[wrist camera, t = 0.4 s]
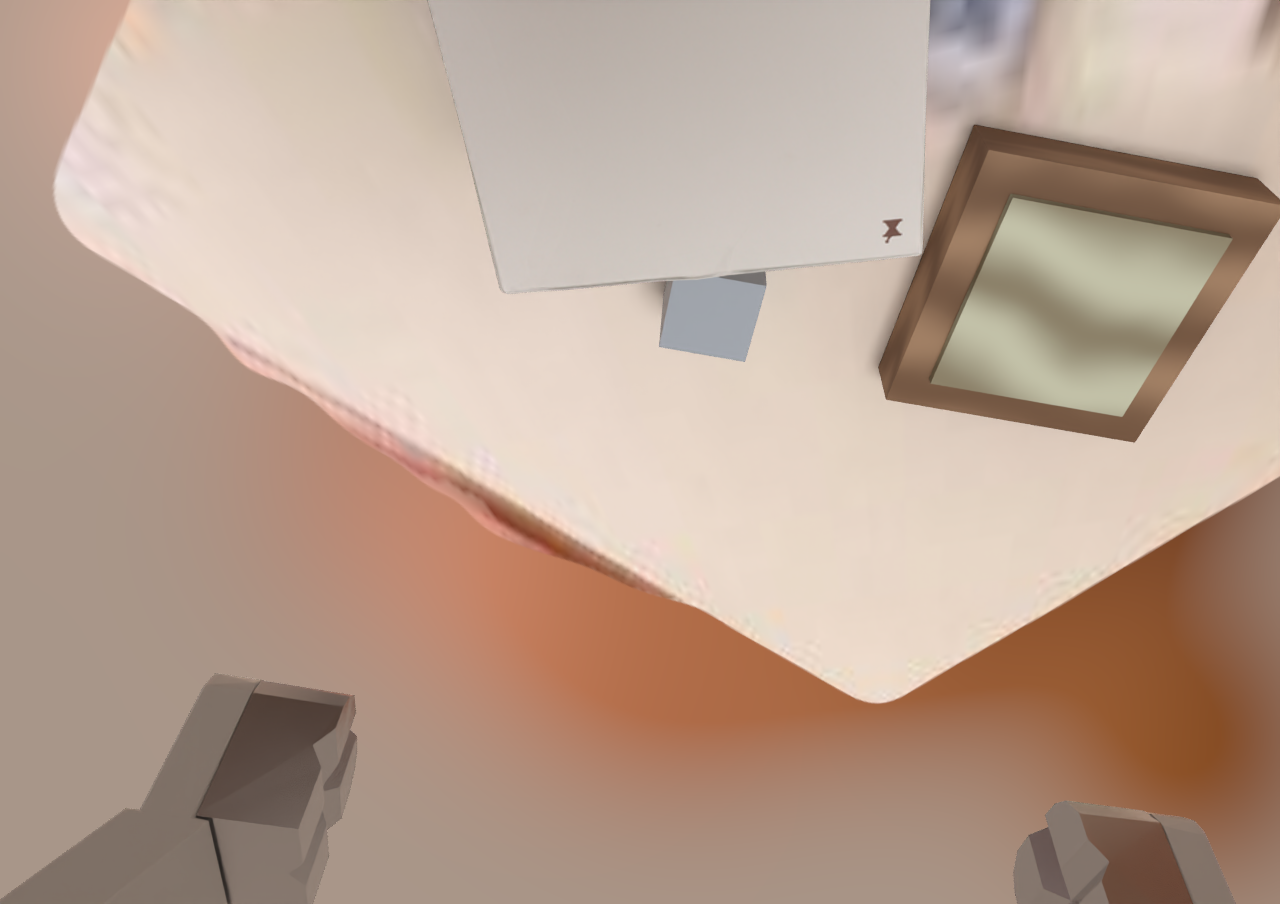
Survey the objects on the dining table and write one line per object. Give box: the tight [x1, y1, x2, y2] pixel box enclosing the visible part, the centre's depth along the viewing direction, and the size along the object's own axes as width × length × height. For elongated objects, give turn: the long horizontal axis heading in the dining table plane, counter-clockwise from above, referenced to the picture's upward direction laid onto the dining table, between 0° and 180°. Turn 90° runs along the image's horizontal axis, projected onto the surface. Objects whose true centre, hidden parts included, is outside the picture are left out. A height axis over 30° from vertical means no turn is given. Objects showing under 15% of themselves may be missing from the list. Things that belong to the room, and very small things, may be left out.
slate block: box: [659, 271, 766, 362], centre depth 55 cm, size 5×5×6 cm
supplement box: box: [427, 0, 930, 294], centre depth 41 cm, size 17×13×18 cm
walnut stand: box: [878, 125, 1280, 442], centre depth 55 cm, size 16×16×4 cm
